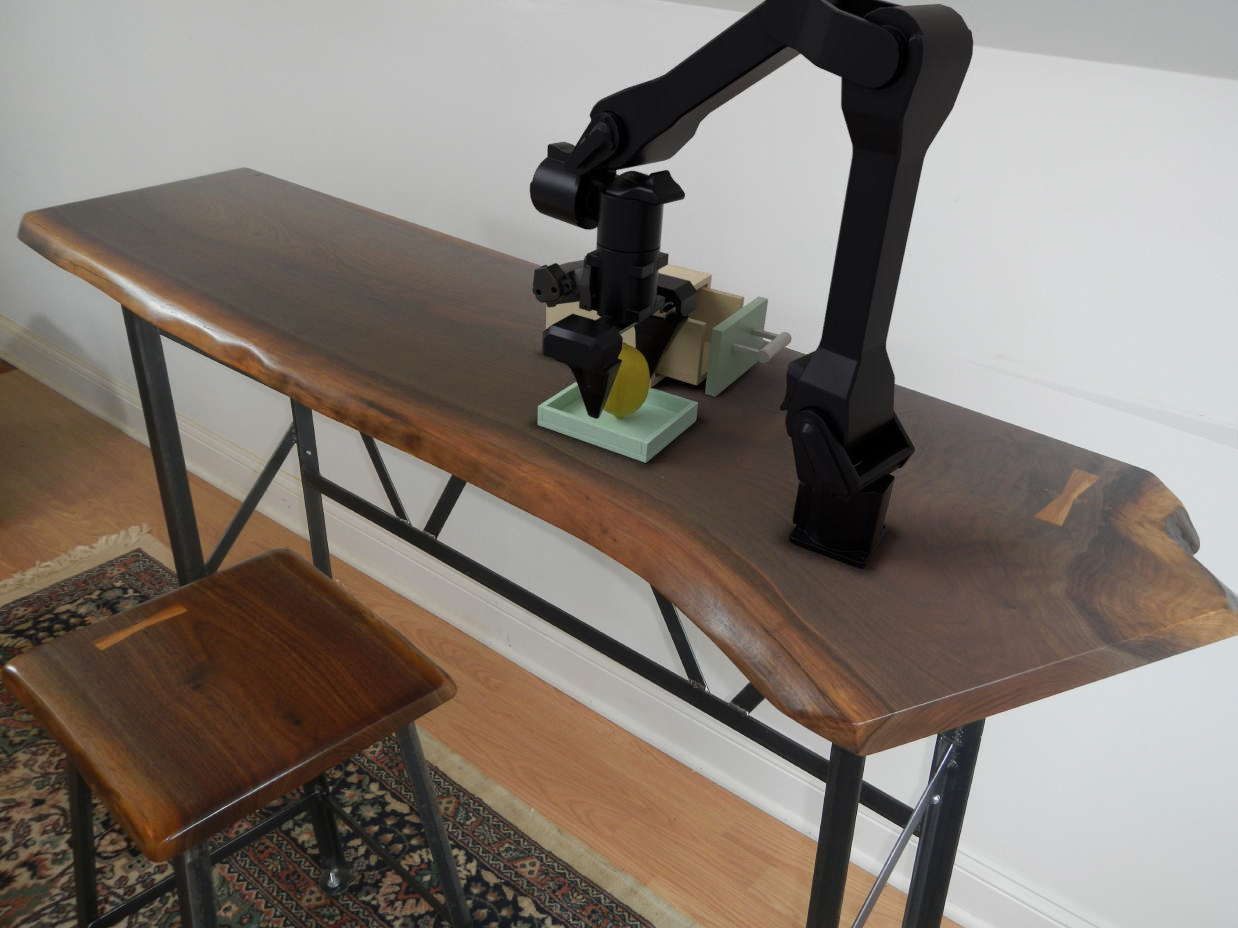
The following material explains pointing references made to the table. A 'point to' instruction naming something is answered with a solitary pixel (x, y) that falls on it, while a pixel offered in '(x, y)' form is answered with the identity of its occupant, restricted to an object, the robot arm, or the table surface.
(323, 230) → the table surface
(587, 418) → the tray
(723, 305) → the drawer
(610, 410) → the lemon
